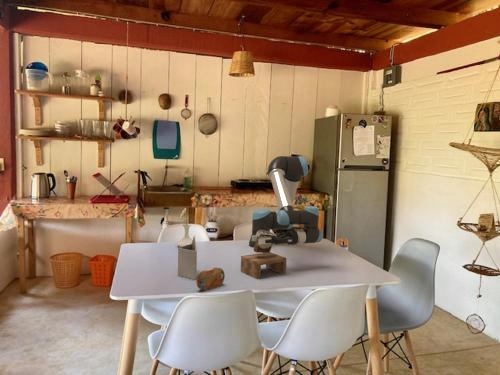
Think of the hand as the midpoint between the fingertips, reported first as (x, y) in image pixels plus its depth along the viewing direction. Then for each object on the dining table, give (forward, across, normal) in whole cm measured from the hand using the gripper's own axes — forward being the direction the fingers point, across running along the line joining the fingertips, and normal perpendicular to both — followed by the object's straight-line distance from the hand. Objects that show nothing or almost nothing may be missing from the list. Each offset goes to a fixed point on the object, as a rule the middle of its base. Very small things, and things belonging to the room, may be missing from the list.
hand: (255, 240), depth 199 cm
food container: (-3, +2, -6) cm, 7 cm away
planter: (+32, +10, -17) cm, 38 cm away
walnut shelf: (-5, 0, -17) cm, 18 cm away
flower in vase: (+16, +64, -17) cm, 69 cm away
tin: (+27, -12, -17) cm, 34 cm away
